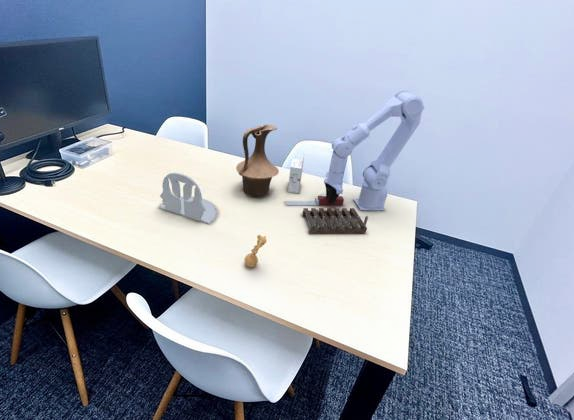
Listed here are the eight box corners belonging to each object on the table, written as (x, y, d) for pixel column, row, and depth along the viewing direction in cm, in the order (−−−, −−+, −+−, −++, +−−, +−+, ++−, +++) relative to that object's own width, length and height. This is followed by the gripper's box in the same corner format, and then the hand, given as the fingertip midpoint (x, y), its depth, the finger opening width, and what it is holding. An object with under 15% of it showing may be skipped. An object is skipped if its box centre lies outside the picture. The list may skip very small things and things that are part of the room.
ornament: (157, 208, 124) (153, 167, 115) (178, 193, 134) (176, 154, 125) (209, 224, 117) (208, 182, 108) (226, 207, 127) (227, 167, 118)
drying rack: (352, 214, 127) (357, 198, 124) (365, 234, 117) (370, 218, 113) (301, 214, 126) (304, 198, 122) (310, 234, 115) (313, 218, 111)
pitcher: (253, 206, 128) (258, 136, 113) (226, 189, 139) (227, 123, 124) (284, 193, 139) (292, 127, 124) (256, 178, 149) (261, 116, 134)
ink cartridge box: (288, 182, 147) (293, 151, 139) (300, 184, 146) (305, 153, 138) (287, 192, 140) (291, 159, 132) (298, 193, 139) (303, 161, 131)
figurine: (250, 255, 104) (252, 223, 97) (268, 261, 102) (271, 229, 96) (239, 271, 97) (240, 239, 91) (258, 278, 95) (261, 245, 89)
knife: (340, 202, 135) (342, 195, 133) (342, 205, 132) (344, 199, 131) (285, 202, 133) (286, 195, 131) (286, 205, 130) (287, 199, 129)
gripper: (321, 161, 131) (315, 191, 138) (332, 178, 119) (325, 210, 126) (338, 162, 131) (332, 192, 139) (351, 178, 119) (343, 210, 127)
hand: (330, 201), depth 132 cm, fingers closed on knife, 2 cm apart
